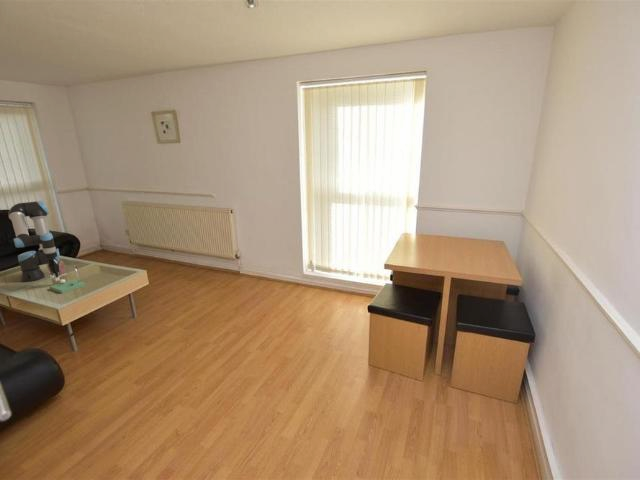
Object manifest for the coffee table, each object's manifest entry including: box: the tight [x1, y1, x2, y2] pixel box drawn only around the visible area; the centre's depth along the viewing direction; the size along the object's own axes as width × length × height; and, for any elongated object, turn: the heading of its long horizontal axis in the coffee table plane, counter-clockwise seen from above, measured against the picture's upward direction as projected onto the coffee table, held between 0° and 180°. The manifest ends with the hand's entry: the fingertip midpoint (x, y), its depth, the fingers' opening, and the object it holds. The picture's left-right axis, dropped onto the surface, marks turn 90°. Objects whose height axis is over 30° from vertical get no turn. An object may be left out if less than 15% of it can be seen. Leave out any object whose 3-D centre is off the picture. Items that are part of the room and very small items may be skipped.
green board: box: [48, 279, 86, 294], centre depth 246 cm, size 18×16×2 cm
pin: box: [74, 265, 81, 282], centre depth 247 cm, size 4×1×14 cm, turn 63°
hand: (57, 280), depth 252 cm, fingers closed
